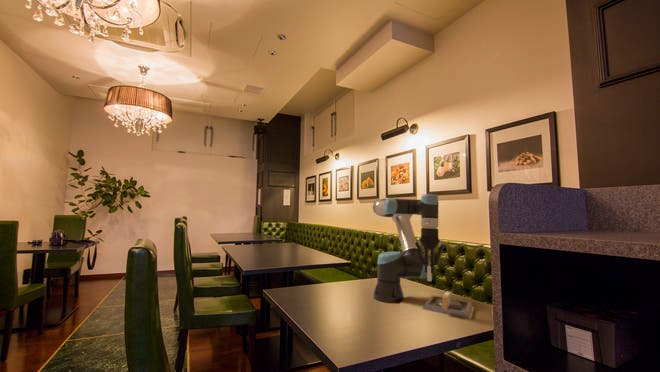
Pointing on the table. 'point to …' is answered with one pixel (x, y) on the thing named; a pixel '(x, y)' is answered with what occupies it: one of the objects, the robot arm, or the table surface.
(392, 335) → the table surface
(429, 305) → the grey rectangular tray
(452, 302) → the grey dome with handle
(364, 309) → the table surface
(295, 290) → the table surface
